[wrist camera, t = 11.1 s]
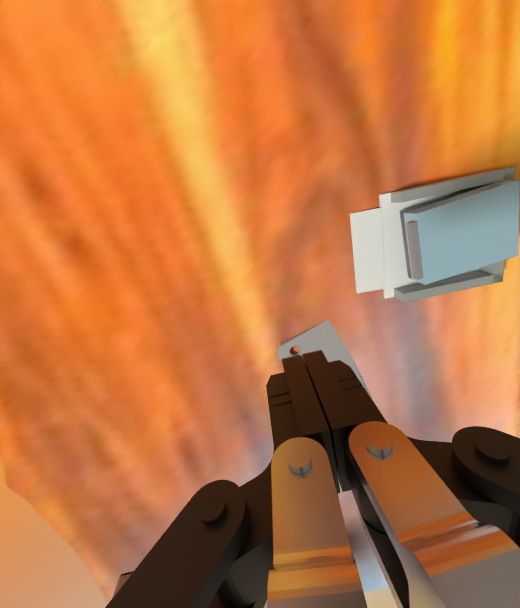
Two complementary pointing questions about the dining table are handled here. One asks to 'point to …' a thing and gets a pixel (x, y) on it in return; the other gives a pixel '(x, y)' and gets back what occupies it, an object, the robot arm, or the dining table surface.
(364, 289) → the dock
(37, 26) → the dining table surface
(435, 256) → the pale blue lipped slab
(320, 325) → the kitchen cleaver
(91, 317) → the dining table surface
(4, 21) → the dining table surface
